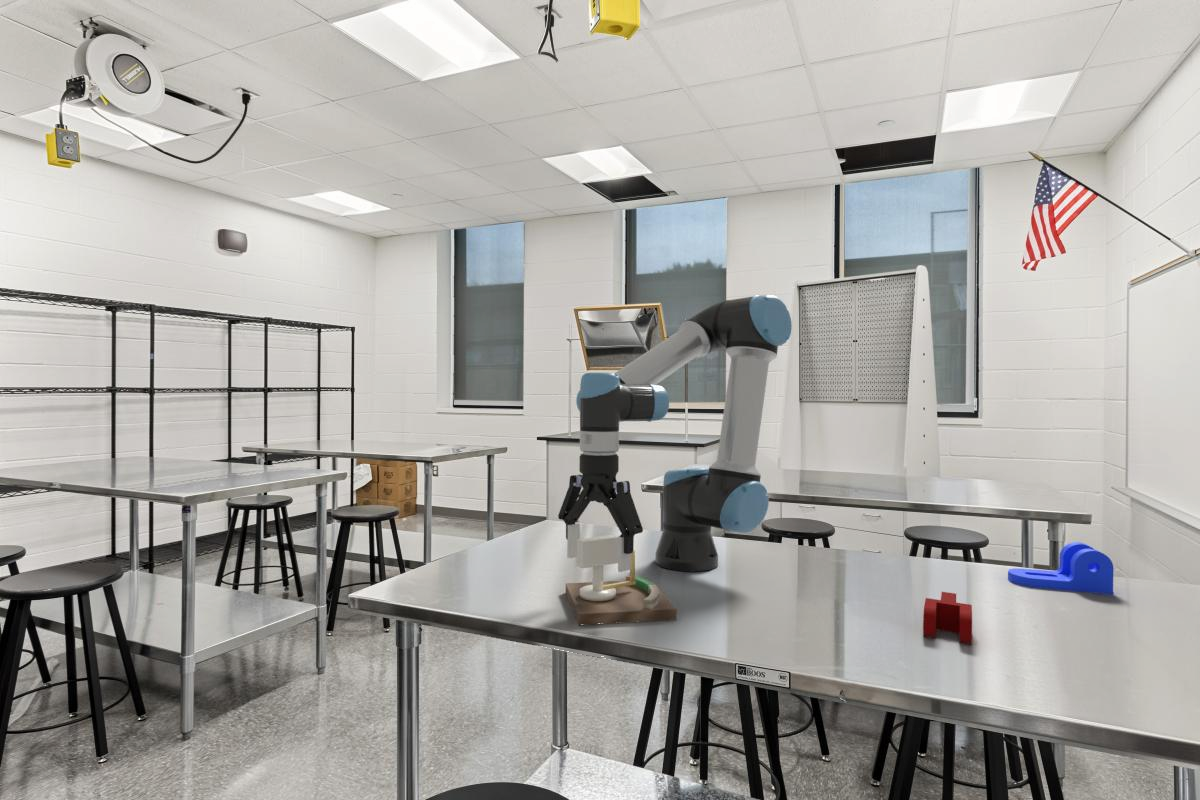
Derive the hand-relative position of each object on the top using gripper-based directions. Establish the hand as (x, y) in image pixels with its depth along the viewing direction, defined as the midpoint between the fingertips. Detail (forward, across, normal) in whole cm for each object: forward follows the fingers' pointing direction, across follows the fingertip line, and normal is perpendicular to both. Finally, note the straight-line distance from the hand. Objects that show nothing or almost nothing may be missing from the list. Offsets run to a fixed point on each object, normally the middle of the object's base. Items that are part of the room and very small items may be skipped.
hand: (598, 563), depth 122 cm
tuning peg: (+6, +1, +2) cm, 6 cm away
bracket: (+9, +60, +83) cm, 103 cm away
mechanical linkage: (+9, +51, +36) cm, 64 cm away
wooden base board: (+8, +2, +3) cm, 9 cm away
